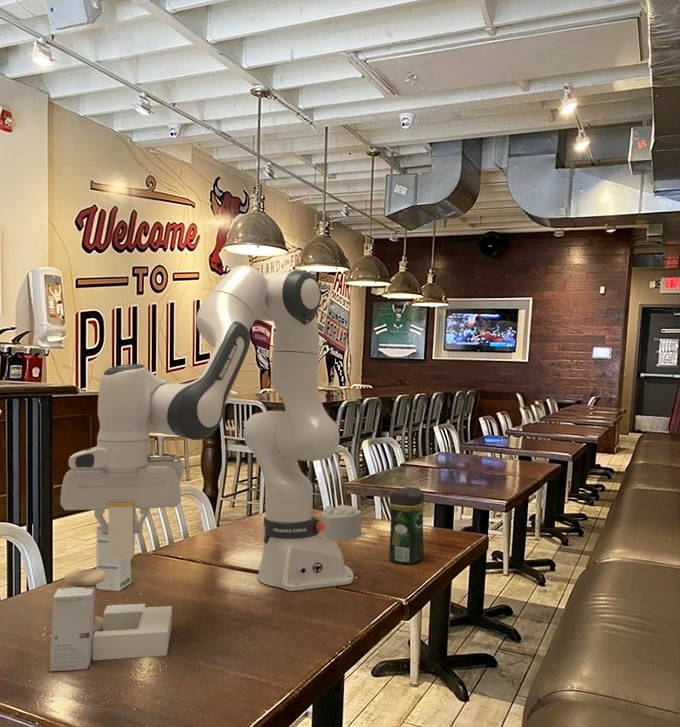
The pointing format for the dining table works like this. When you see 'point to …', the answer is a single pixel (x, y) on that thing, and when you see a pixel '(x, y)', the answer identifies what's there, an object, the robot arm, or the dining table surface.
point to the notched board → (133, 632)
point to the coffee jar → (406, 525)
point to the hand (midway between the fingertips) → (121, 533)
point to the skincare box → (72, 628)
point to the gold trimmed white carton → (121, 531)
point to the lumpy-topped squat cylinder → (341, 523)
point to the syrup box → (112, 566)
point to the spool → (87, 580)
